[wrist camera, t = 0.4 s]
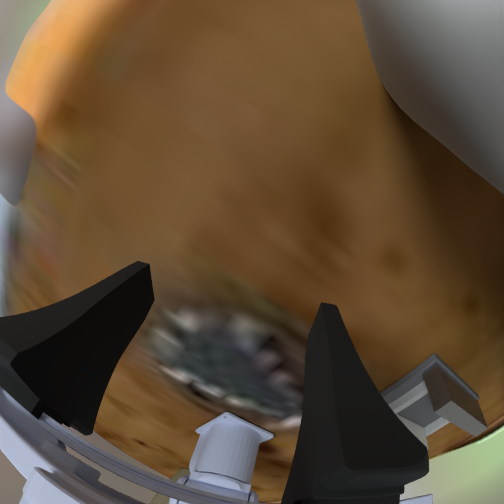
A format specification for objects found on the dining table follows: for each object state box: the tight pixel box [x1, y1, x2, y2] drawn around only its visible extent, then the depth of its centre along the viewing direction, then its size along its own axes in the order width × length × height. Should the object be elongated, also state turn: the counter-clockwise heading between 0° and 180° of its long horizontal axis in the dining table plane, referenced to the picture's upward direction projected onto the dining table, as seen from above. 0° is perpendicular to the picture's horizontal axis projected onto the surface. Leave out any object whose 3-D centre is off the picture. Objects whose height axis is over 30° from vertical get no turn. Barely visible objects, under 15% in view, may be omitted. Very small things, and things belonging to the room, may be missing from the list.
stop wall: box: [422, 362, 488, 437], centre depth 20 cm, size 2×15×6 cm, turn 54°
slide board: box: [380, 353, 479, 436], centre depth 26 cm, size 20×16×2 cm
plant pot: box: [149, 469, 191, 504], centre depth 39 cm, size 15×15×16 cm
